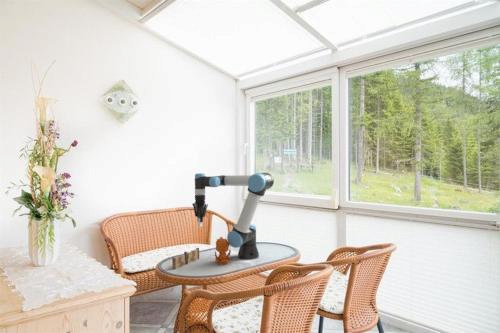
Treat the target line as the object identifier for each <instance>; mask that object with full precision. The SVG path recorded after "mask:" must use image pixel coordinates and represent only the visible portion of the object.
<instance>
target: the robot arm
mask: <svg viewBox="0 0 500 333" xmlns="http://www.w3.org/2000/svg"><path fill="white" fill-rule="evenodd" d="M274 180H275V179H274V176H273V175H272V174H271V173H269V172H256V173H253V174H251V175H249V174H248V175H246V174H244V175H241V174H239V175H225V174H224V175H214V176H213V175H212V176H206V174H205V173H203V172H202V173H200V172H198V173H195V175H194V200H195V202H194V203H192V207H193V211H194V216H195V217H196V219H197V224H198V225H197V227H199V228H201V227H203V221H204V218H205V217H206V213H207V208H208V206H209V204H208V203H206V188H218V187H219V186H220V187H221V186H222V187H226V186H227V187H229V186H231V187H232V186H233V187H235V186H236V187H248V188H247V192H248V194H247V197H246V198H245V202H244V204H243V207H242V209H241V212H240V215H239V217H238V220H237V223H235V224H233V227H232V230H231V231H229V232H228V233H227V236H226V239H227V241H228V242H229V246H231V247H232V248H238V252H237V257H238V258H239V259H243V260H254V259H257V258H259V257H260V253H259V250H258V247H257V229H256V228H257V226H256V225H254V224H251V223H252V221H253V218H254V215H255V213H256V210H257V208H258V205H259V202H260V200H261V198H263V197H264V195H265V194H266V191H267V190H269V189H271V188H273V185H274V184H275V181H274Z"/></svg>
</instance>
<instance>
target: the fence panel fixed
mask: <svg viewBox="0 0 500 333" xmlns="http://www.w3.org/2000/svg"><path fill="white" fill-rule="evenodd" d="M187 253H188V251H184V252H183V254H182V255H179V256H177V257H172V259H171V260H172V261H171V262H172V270H177V269H179V268H182V267H184V266H185V265H188V263H187Z"/></svg>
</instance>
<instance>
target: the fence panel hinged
mask: <svg viewBox="0 0 500 333" xmlns="http://www.w3.org/2000/svg"><path fill="white" fill-rule="evenodd" d="M197 260H200V248H199V247H196V248H195V249H194V250H190V251H187V264H191V263H193V262H195V261H197Z"/></svg>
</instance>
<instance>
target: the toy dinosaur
mask: <svg viewBox="0 0 500 333" xmlns="http://www.w3.org/2000/svg"><path fill="white" fill-rule="evenodd" d="M229 247H230V244H229V242H228V240H227V238H223V237H222V236H220V237H219V238H216V242H215V251H214V257H215V263H216V264H218V265H220V266H221V265H222V266H224V265H227V264H228V262H229V263H230V261H231V257H230V256H231V248H229ZM217 252H218V254H219V255H218V254H217ZM227 252H228V253H227Z"/></svg>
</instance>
